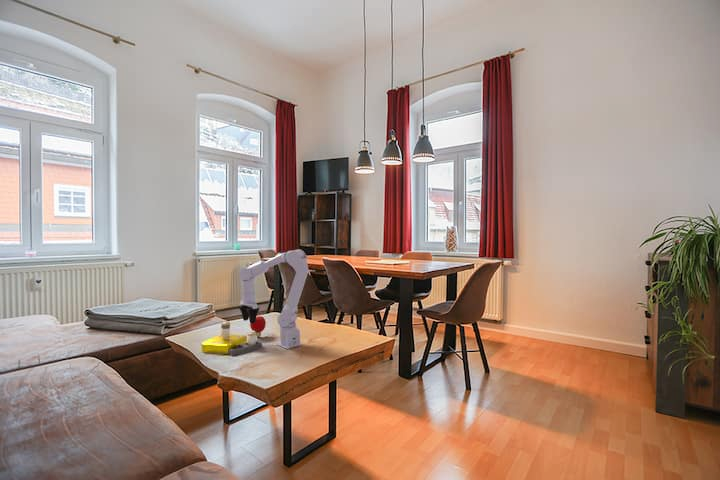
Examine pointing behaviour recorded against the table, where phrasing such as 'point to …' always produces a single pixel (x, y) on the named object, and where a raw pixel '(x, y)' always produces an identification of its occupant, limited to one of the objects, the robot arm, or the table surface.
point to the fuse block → (244, 348)
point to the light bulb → (258, 325)
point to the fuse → (251, 338)
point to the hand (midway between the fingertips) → (249, 321)
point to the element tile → (223, 344)
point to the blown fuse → (225, 330)
